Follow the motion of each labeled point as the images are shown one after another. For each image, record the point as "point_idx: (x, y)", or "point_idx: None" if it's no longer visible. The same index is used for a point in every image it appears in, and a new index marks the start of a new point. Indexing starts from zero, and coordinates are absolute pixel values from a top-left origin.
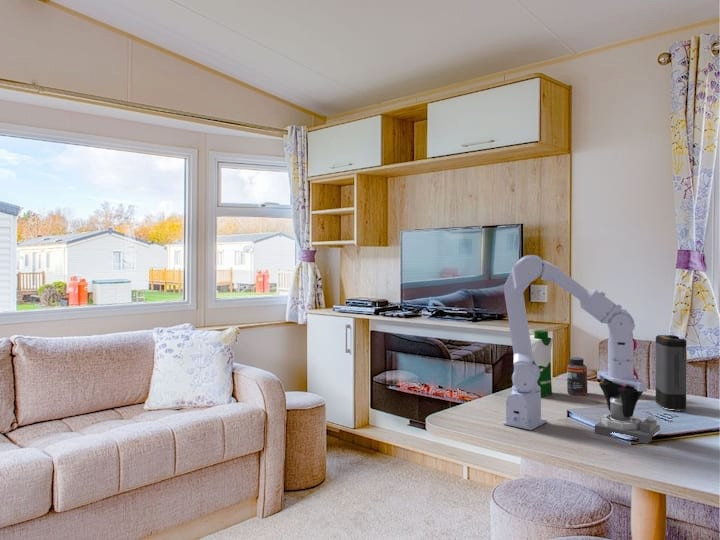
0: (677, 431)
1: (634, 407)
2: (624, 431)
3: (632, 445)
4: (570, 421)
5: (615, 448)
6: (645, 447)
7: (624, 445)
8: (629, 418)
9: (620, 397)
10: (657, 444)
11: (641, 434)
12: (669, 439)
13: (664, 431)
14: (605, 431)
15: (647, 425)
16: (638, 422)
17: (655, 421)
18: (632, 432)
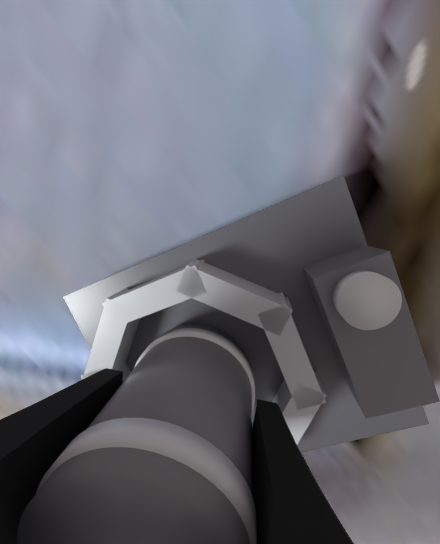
0: (357, 31)
1: (304, 468)
2: (300, 448)
3: (369, 453)
4: (12, 400)
5: (353, 531)
6: (423, 432)
7: (349, 478)
8: (248, 383)
9: (98, 540)
10: (432, 351)
11: (393, 430)
12: (423, 224)
13: (313, 117)
14: None
15: (417, 403)
16: (309, 362)
17: (398, 279)
18: (341, 438)
